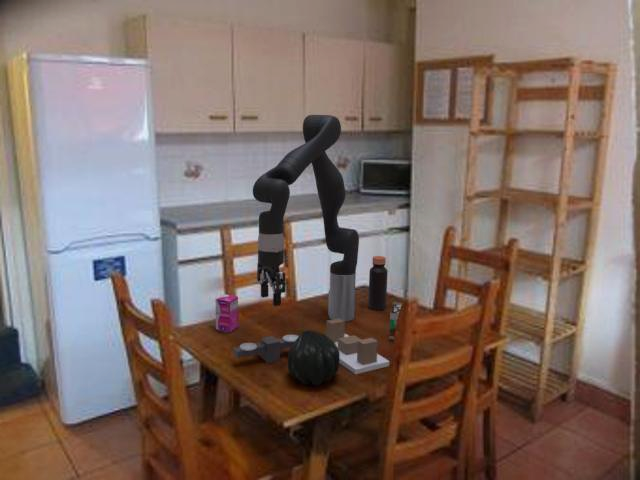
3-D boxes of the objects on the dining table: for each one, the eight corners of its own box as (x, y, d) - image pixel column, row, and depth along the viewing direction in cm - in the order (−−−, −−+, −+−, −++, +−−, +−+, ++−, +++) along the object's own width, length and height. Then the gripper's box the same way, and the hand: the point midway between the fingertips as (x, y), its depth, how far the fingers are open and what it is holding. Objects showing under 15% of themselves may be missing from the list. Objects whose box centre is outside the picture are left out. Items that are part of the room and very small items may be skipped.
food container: (407, 344, 182) (409, 315, 180) (388, 342, 183) (390, 313, 181) (409, 330, 194) (411, 303, 192) (391, 328, 195) (393, 301, 193)
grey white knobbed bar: (238, 369, 162) (238, 349, 161) (232, 362, 166) (232, 343, 165) (305, 354, 173) (306, 336, 172) (298, 348, 177) (298, 330, 176)
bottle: (365, 305, 219) (367, 255, 215) (382, 304, 220) (384, 254, 216) (371, 311, 212) (373, 260, 208) (388, 310, 214) (390, 259, 210)
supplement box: (215, 330, 190) (214, 298, 188) (224, 325, 196) (224, 293, 193) (230, 333, 188) (229, 301, 186) (239, 327, 193) (238, 295, 191)
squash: (358, 363, 155) (331, 316, 159) (320, 383, 144) (293, 331, 148) (330, 381, 164) (306, 336, 168) (293, 401, 154) (268, 352, 158)
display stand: (314, 344, 180) (314, 321, 179) (345, 337, 186) (346, 315, 185) (355, 374, 160) (356, 348, 158) (389, 366, 166) (390, 340, 164)
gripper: (249, 243, 166) (249, 296, 170) (269, 254, 154) (269, 310, 158) (272, 241, 170) (271, 292, 173) (293, 251, 158) (293, 306, 161)
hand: (270, 301), depth 165 cm, fingers open, 8 cm apart
